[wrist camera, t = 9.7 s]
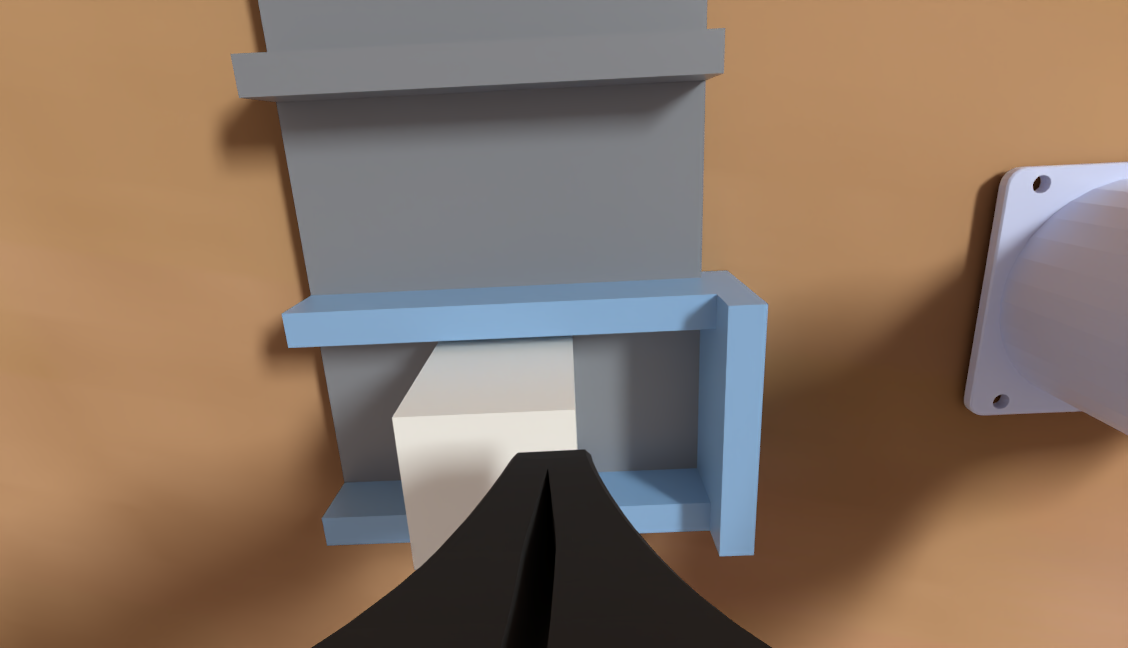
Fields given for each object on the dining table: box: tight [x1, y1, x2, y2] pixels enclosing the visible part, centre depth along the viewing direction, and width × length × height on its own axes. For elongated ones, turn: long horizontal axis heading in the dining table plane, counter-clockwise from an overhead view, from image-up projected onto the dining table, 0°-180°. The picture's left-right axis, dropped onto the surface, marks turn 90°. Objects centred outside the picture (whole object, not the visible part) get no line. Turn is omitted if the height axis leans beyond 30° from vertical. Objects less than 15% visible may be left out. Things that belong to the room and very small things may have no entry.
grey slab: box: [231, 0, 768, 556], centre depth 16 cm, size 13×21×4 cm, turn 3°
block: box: [392, 335, 578, 570], centre depth 16 cm, size 4×4×6 cm
